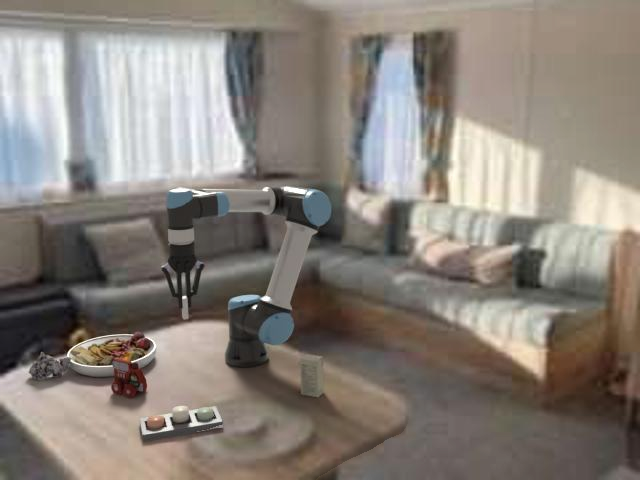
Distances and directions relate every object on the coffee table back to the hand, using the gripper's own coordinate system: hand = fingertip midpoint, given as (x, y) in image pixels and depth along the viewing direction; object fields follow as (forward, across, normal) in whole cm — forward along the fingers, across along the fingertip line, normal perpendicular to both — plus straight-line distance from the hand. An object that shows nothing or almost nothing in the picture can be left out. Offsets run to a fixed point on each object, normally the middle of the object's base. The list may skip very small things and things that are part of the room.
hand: (185, 317), depth 201 cm
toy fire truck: (+27, +17, -11) cm, 34 cm away
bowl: (+27, +21, -38) cm, 51 cm away
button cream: (+24, +5, +17) cm, 30 cm away
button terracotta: (+26, +12, +17) cm, 33 cm away
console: (+26, +5, +17) cm, 32 cm away
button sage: (+26, -2, +17) cm, 31 cm away
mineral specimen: (+27, +42, -32) cm, 59 cm away
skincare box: (+27, -37, +10) cm, 47 cm away
